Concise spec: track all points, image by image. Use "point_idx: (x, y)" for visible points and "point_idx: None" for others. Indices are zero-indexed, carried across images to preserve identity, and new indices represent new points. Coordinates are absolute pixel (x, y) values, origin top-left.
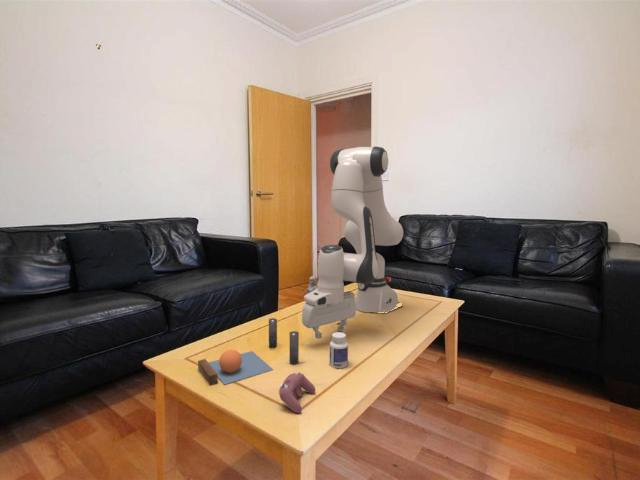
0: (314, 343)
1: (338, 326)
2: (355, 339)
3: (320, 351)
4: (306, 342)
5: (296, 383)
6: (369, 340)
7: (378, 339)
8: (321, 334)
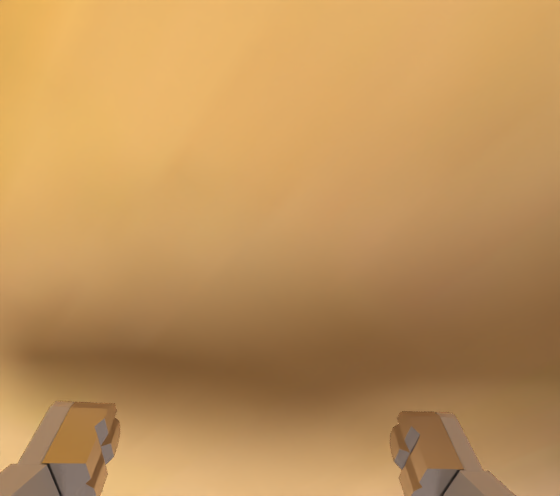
0: (90, 326)
1: (433, 471)
2: None
3: None
4: (10, 266)
5: None
6: None
7: (542, 487)
8: (101, 480)
